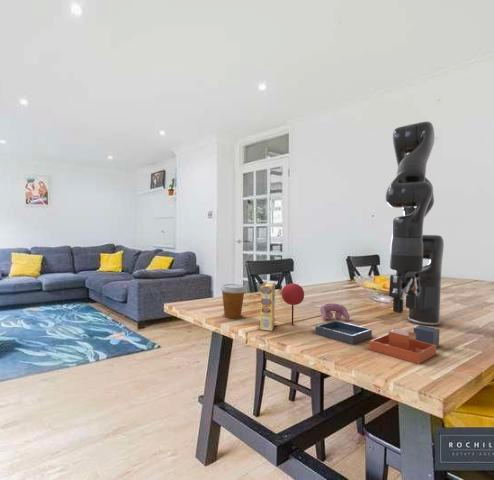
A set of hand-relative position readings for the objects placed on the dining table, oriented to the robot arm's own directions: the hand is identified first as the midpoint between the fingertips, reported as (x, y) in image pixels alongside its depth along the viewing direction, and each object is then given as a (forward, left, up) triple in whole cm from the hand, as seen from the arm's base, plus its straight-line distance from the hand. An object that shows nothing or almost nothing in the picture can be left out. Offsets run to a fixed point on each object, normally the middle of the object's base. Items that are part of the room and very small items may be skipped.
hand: (404, 310), depth 93 cm
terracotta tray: (0, 0, -12) cm, 12 cm away
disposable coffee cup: (+14, -54, -12) cm, 57 cm away
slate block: (-13, +1, -12) cm, 18 cm away
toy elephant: (-17, -30, -12) cm, 36 cm away
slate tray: (0, -17, -12) cm, 21 cm away
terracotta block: (0, 0, -11) cm, 11 cm away
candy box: (+14, -37, -12) cm, 41 cm away
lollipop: (+4, -34, -12) cm, 36 cm away
